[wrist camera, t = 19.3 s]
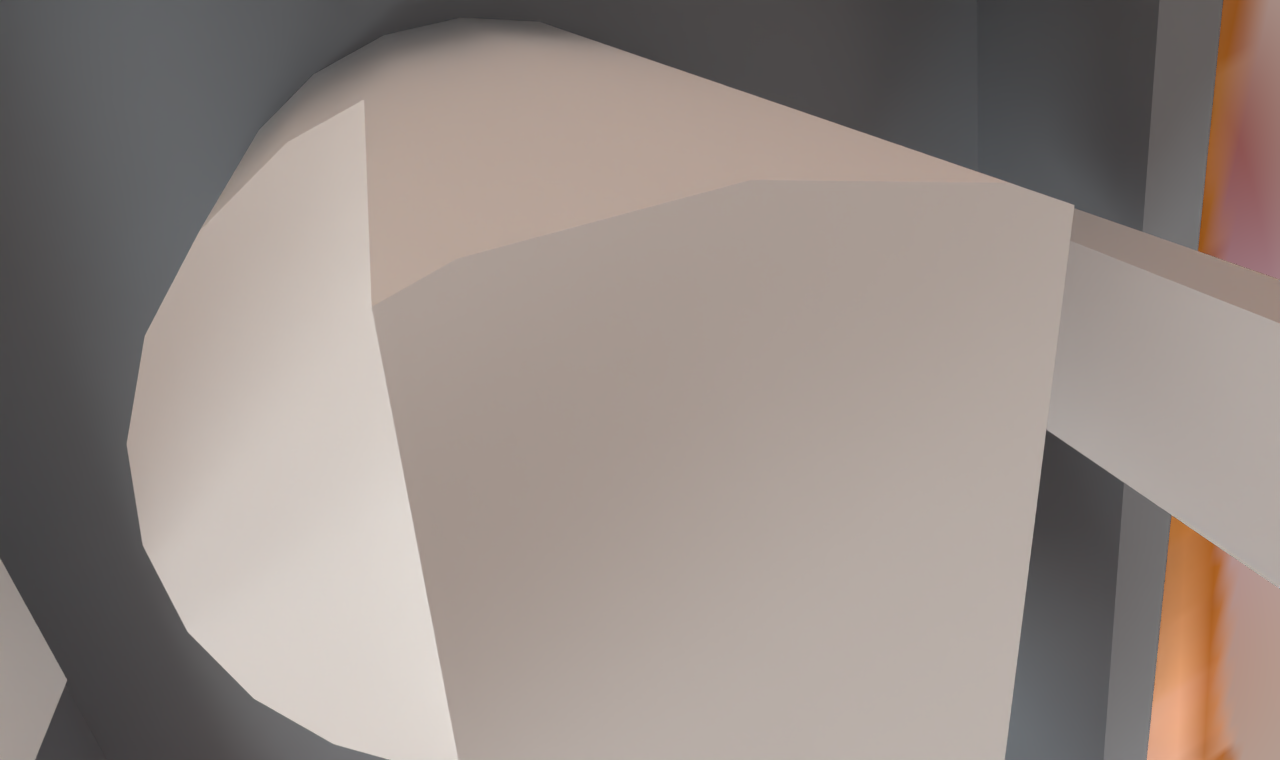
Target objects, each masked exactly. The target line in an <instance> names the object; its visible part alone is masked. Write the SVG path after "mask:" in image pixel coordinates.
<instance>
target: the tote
mask: <svg viewBox="0 0 1280 760" xmlns="http://www.w3.org/2000/svg"><path fill="white" fill-rule="evenodd" d="M1222 6H1223V0H0V559H1V561H2V563H3V564H4V566H5V568H6V570H7V572H8V574H9V575H10V577H11V579H12V581H13V583H14V584H15V586H16V588H17V590H18V592H19V593H20V595H21V597H22V599H23V601H24V603H25V604H26V606H27V608H28V610H29V612H30V613H31V615H32V617H33V619H34V621H35V623H36V624H37V626H38V628H39V630H40V632H41V633H42V635H43V637H44V639H45V641H46V642H47V644H48V646H49V648H50V650H51V652H52V653H53V655H54V657H55V659H56V661H57V662H58V664H59V666H60V668H61V670H62V671H63V673H64V675H65V677H66V679H67V682H66V684H65V687H64V689H63V692H62V694H61V697H60V699H59V702H58V704H57V707H56V709H55V712H54V714H53V717H52V719H51V722H50V724H49V726H48V729H47V731H46V734H45V736H44V739H43V741H42V744H41V746H40V749H39V751H38V754H37V756H36V759H35V760H388V759H385V758H381V757H378V756H374V755H371V754H367V753H363V752H360V751H356V750H353V749H349V748H346V747H342V746H338V745H335V744H332V743H331V742H329V741H327V740H325V739H324V738H322V737H320V736H318V735H317V734H315V733H313V732H311V731H310V730H308V729H306V728H304V727H303V726H301V725H299V724H297V723H296V722H294V721H292V720H290V719H289V718H287V717H285V716H283V715H282V714H280V713H278V712H276V711H275V710H273V709H271V708H269V707H268V706H266V705H264V704H262V703H261V702H259V701H257V700H255V699H254V698H253V697H252V696H251V695H250V694H249V693H248V692H247V691H246V690H245V689H244V688H243V687H242V686H241V685H240V684H239V683H238V682H237V681H236V680H235V679H234V678H233V677H232V676H231V675H230V674H229V673H228V672H227V671H226V670H225V669H224V668H223V667H222V666H221V665H220V664H219V663H218V662H217V661H216V660H215V659H214V658H213V657H212V656H211V655H210V654H209V653H208V652H207V651H206V650H205V649H204V648H203V647H202V646H201V645H200V644H199V643H198V642H197V641H196V640H195V639H194V638H193V637H192V636H191V635H190V634H189V633H188V632H187V630H186V628H185V626H184V624H183V622H182V620H181V618H180V616H179V614H178V612H177V611H176V609H175V607H174V605H173V603H172V601H171V599H170V597H169V595H168V593H167V591H166V589H165V587H164V586H163V584H162V582H161V580H160V578H159V576H158V574H157V572H156V570H155V568H154V566H153V564H152V562H151V560H150V559H149V557H148V555H147V553H146V551H145V549H144V547H143V544H142V538H141V532H140V525H139V519H138V513H137V507H136V500H135V494H134V488H133V482H132V475H131V469H130V463H129V456H128V450H127V438H128V432H129V427H130V421H131V415H132V409H133V403H134V397H135V391H136V385H137V379H138V373H139V367H140V361H141V355H142V349H143V343H144V337H145V334H146V332H147V331H148V329H149V327H150V325H151V323H152V321H153V319H154V317H155V315H156V313H157V311H158V309H159V307H160V306H161V304H162V302H163V300H164V298H165V296H166V294H167V292H168V290H169V288H170V286H171V284H172V283H173V281H174V279H175V277H176V275H177V273H178V271H179V269H180V267H181V265H182V263H183V261H184V260H185V258H186V256H187V254H188V252H189V250H190V248H191V246H192V244H193V242H194V240H195V238H196V237H197V235H198V233H199V231H200V229H201V227H202V226H203V224H204V222H205V221H206V219H207V217H208V216H209V214H210V212H211V210H212V209H213V207H214V205H215V204H216V202H217V200H218V199H219V197H220V195H221V193H222V192H223V190H224V188H225V187H226V185H227V183H228V182H229V180H230V178H231V176H232V175H233V173H234V171H235V170H236V168H237V166H238V165H239V163H240V161H241V160H242V158H243V156H244V154H245V153H246V151H247V149H248V148H249V146H250V144H251V143H252V141H253V139H254V137H255V136H256V134H257V132H258V131H259V129H260V128H261V127H262V126H263V125H264V124H265V123H266V122H267V121H268V120H269V119H270V118H271V117H272V116H273V115H274V114H275V113H276V112H277V111H278V110H279V109H280V108H281V107H282V106H283V105H284V104H285V103H286V102H287V101H288V100H289V99H290V98H291V97H292V96H293V95H294V94H295V93H296V92H297V91H298V90H299V89H300V88H301V87H302V86H303V85H304V84H305V83H306V82H307V81H308V80H309V79H310V77H311V76H312V75H313V74H315V73H317V72H318V71H320V70H322V69H324V68H326V67H327V66H329V65H331V64H333V63H335V62H336V61H338V60H340V59H342V58H344V57H345V56H347V55H349V54H351V53H353V52H354V51H356V50H358V49H360V48H362V47H363V46H365V45H367V44H369V43H371V42H372V41H374V40H376V39H378V38H380V37H381V36H383V35H387V34H391V33H396V32H400V31H405V30H409V29H413V28H418V27H422V26H426V25H431V24H435V23H440V22H444V21H448V20H453V19H457V18H479V19H498V20H516V21H535V22H541V23H544V24H547V25H550V26H553V27H556V28H559V29H562V30H565V31H568V32H571V33H574V34H576V35H579V36H582V37H585V38H588V39H591V40H594V41H597V42H600V43H603V44H606V45H609V46H611V47H614V48H617V49H620V50H623V51H626V52H629V53H632V54H635V55H638V56H641V57H644V58H647V59H649V60H652V61H655V62H658V63H661V64H664V65H667V66H670V67H673V68H676V69H679V70H682V71H685V72H687V73H690V74H693V75H696V76H699V77H702V78H705V79H708V80H711V81H714V82H717V83H720V84H723V85H725V86H728V87H731V88H734V89H737V90H740V91H743V92H746V93H749V94H752V95H755V96H758V97H760V98H763V99H766V100H769V101H772V102H775V103H778V104H781V105H784V106H787V107H790V108H793V109H796V110H798V111H801V112H804V113H807V114H810V115H813V116H816V117H819V118H822V119H825V120H828V121H831V122H834V123H836V124H839V125H842V126H845V127H848V128H851V129H854V130H857V131H860V132H863V133H866V134H869V135H872V136H874V137H877V138H880V139H883V140H886V141H889V142H892V143H895V144H898V145H901V146H904V147H907V148H909V149H912V150H915V151H918V152H921V153H924V154H927V155H930V156H933V157H936V158H939V159H942V160H945V161H947V162H950V163H953V164H956V165H959V166H962V167H965V168H968V169H971V170H974V171H977V172H980V173H983V174H985V175H988V176H991V177H994V178H997V179H1000V180H1003V181H1006V182H1009V183H1012V184H1015V185H1018V186H1020V187H1023V188H1026V189H1029V190H1032V191H1035V192H1038V193H1041V194H1044V195H1047V196H1050V197H1052V198H1055V199H1058V200H1061V201H1064V202H1067V203H1070V204H1073V205H1075V206H1074V208H1075V209H1078V210H1081V211H1084V212H1087V213H1089V214H1092V215H1095V216H1098V217H1101V218H1104V219H1107V220H1110V221H1112V222H1115V223H1118V224H1121V225H1124V226H1127V227H1130V228H1133V229H1135V230H1138V231H1141V232H1144V233H1147V234H1150V235H1153V236H1156V237H1159V238H1161V239H1164V240H1167V241H1170V242H1173V243H1176V244H1179V245H1182V246H1184V247H1187V248H1190V249H1193V250H1196V251H1198V244H1199V234H1200V225H1201V215H1202V205H1203V195H1204V185H1205V175H1206V165H1207V155H1208V145H1209V135H1210V125H1211V115H1212V106H1213V96H1214V86H1215V76H1216V66H1217V56H1218V46H1219V36H1220V26H1221V16H1222ZM1170 522H1171V514H1169V513H1168V512H1166V511H1165V510H1163V509H1162V508H1160V507H1159V506H1158V505H1156V504H1155V503H1153V502H1152V501H1150V500H1149V499H1147V498H1146V497H1144V496H1143V495H1141V494H1140V493H1139V492H1137V491H1136V490H1134V489H1133V488H1131V487H1130V486H1128V485H1127V484H1125V483H1124V482H1122V481H1121V480H1120V479H1118V478H1117V477H1115V476H1114V475H1112V474H1111V473H1109V472H1108V471H1106V470H1105V469H1103V468H1102V467H1100V466H1099V465H1098V464H1096V463H1095V462H1093V461H1092V460H1090V459H1089V458H1087V457H1086V456H1084V455H1083V454H1081V453H1080V452H1079V451H1077V450H1076V449H1074V448H1073V447H1071V446H1070V445H1068V444H1067V443H1065V442H1064V441H1062V440H1061V439H1060V438H1058V437H1057V436H1055V435H1054V434H1052V433H1051V432H1049V431H1048V430H1046V436H1045V444H1044V452H1043V460H1042V468H1041V476H1040V484H1039V492H1038V499H1037V507H1036V515H1035V523H1034V531H1033V539H1032V547H1031V555H1030V563H1029V571H1028V579H1027V587H1026V595H1025V603H1024V611H1023V619H1022V627H1021V634H1020V642H1019V650H1018V658H1017V666H1016V674H1015V682H1014V690H1013V698H1012V706H1011V714H1010V722H1009V730H1008V738H1007V746H1006V754H1005V760H1147V750H1148V740H1149V730H1150V720H1151V710H1152V701H1153V691H1154V681H1155V671H1156V661H1157V651H1158V641H1159V631H1160V621H1161V611H1162V601H1163V591H1164V582H1165V572H1166V562H1167V552H1168V542H1169V532H1170Z"/></svg>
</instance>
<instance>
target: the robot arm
mask: <svg viewBox="0 0 1280 760" xmlns="http://www.w3.org/2000/svg"><path fill="white" fill-rule="evenodd" d="M1046 430H1048V431H1049V432H1051V433H1052V434H1054V435H1055V436H1057V437H1058V438H1060V439H1061V440H1062V441H1064V442H1065V443H1067V444H1068V445H1070V446H1071V447H1073V448H1074V449H1076V450H1077V451H1079V452H1080V453H1081V454H1083V455H1084V456H1086V457H1087V458H1089V459H1090V460H1092V461H1093V462H1095V463H1096V464H1098V465H1099V466H1100V467H1102V468H1103V469H1105V470H1106V471H1108V472H1109V473H1111V474H1112V475H1114V476H1115V477H1117V478H1118V479H1120V480H1121V481H1122V482H1124V483H1125V484H1127V485H1128V486H1130V487H1131V488H1133V489H1134V490H1136V491H1137V492H1139V493H1140V494H1141V495H1143V496H1144V497H1146V498H1147V499H1149V500H1150V501H1152V502H1153V503H1155V504H1156V505H1158V506H1159V507H1160V508H1162V509H1163V510H1165V511H1166V512H1168V513H1169V514H1171V515H1172V516H1174V517H1175V518H1177V519H1178V520H1180V521H1181V522H1182V523H1184V524H1185V525H1187V526H1188V527H1190V528H1191V529H1193V530H1194V531H1196V532H1197V533H1199V534H1200V535H1201V536H1203V537H1204V538H1206V539H1207V540H1209V541H1210V542H1212V543H1213V544H1215V545H1216V546H1218V547H1219V548H1220V549H1222V550H1223V551H1225V552H1226V553H1228V554H1229V555H1231V556H1232V557H1234V558H1235V559H1237V560H1238V561H1240V562H1241V563H1242V564H1244V565H1245V566H1247V567H1248V568H1250V569H1251V570H1253V571H1254V572H1256V573H1257V574H1259V575H1260V576H1261V577H1263V578H1264V579H1266V580H1267V581H1269V582H1270V583H1272V584H1273V585H1275V586H1276V587H1278V588H1279V589H1280V280H1279V279H1277V278H1274V277H1271V276H1267V275H1265V274H1262V273H1259V272H1256V271H1254V270H1251V269H1248V268H1245V267H1242V266H1239V265H1236V264H1233V263H1231V262H1228V261H1225V260H1222V259H1219V258H1216V257H1213V256H1210V255H1207V254H1205V253H1202V252H1199V251H1196V250H1193V249H1190V248H1187V247H1184V246H1182V245H1179V244H1176V243H1173V242H1170V241H1167V240H1164V239H1161V238H1159V237H1156V236H1153V235H1150V234H1147V233H1144V232H1141V231H1138V230H1135V229H1133V228H1130V227H1127V226H1124V225H1121V224H1118V223H1115V222H1112V221H1110V220H1107V219H1104V218H1101V217H1098V216H1095V215H1092V214H1089V213H1087V212H1084V211H1081V210H1078V209H1075V208H1074V214H1073V222H1072V229H1071V237H1070V245H1069V253H1068V261H1067V269H1066V277H1065V285H1064V293H1063V301H1062V309H1061V317H1060V325H1059V333H1058V341H1057V349H1056V357H1055V364H1054V372H1053V380H1052V388H1051V396H1050V404H1049V412H1048V420H1047V428H1046ZM66 682H67V679H66V677H65V675H64V673H63V671H62V670H61V668H60V666H59V664H58V662H57V661H56V659H55V657H54V655H53V653H52V652H51V650H50V648H49V646H48V644H47V642H46V641H45V639H44V637H43V635H42V633H41V632H40V630H39V628H38V626H37V624H36V623H35V621H34V619H33V617H32V615H31V613H30V612H29V610H28V608H27V606H26V604H25V603H24V601H23V599H22V597H21V595H20V593H19V592H18V590H17V588H16V586H15V584H14V583H13V581H12V579H11V577H10V575H9V574H8V572H7V570H6V568H5V566H4V564H3V563H2V561H1V559H0V760H35V759H36V756H37V754H38V751H39V749H40V746H41V744H42V741H43V739H44V736H45V734H46V731H47V729H48V726H49V724H50V722H51V719H52V717H53V714H54V712H55V709H56V707H57V704H58V702H59V699H60V697H61V694H62V692H63V689H64V687H65V684H66Z"/></svg>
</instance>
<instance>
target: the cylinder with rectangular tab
mask: <svg viewBox="0 0 1280 760" xmlns="http://www.w3.org/2000/svg"><path fill="white" fill-rule="evenodd" d="M1074 206H1075V205H1073V204H1070V203H1067V202H1064V201H1061V200H1058V199H1055V198H1052V197H1050V196H1047V195H1044V194H1041V193H1038V192H1035V191H1032V190H1029V189H1026V188H1023V187H1020V186H1018V185H1015V184H1012V183H1009V182H1006V181H1003V180H1000V179H997V178H994V177H991V176H988V175H985V174H983V173H980V172H977V171H974V170H971V169H968V168H965V167H962V166H959V165H956V164H953V163H950V162H947V161H945V160H942V159H939V158H936V157H933V156H930V155H927V154H924V153H921V152H918V151H915V150H912V149H909V148H907V147H904V146H901V145H898V144H895V143H892V142H889V141H886V140H883V139H880V138H877V137H874V136H872V135H869V134H866V133H863V132H860V131H857V130H854V129H851V128H848V127H845V126H842V125H839V124H836V123H834V122H831V121H828V120H825V119H822V118H819V117H816V116H813V115H810V114H807V113H804V112H801V111H798V110H796V109H793V108H790V107H787V106H784V105H781V104H778V103H775V102H772V101H769V100H766V99H763V98H760V97H758V96H755V95H752V94H749V93H746V92H743V91H740V90H737V89H734V88H731V87H728V86H725V85H723V84H720V83H717V82H714V81H711V80H708V79H705V78H702V77H699V76H696V75H693V74H690V73H687V72H685V71H682V70H679V69H676V68H673V67H670V66H667V65H664V64H661V63H658V62H655V61H652V60H649V59H647V58H644V57H641V56H638V55H635V54H632V53H629V52H626V51H623V50H620V49H617V48H614V47H611V46H609V45H606V44H603V43H600V42H597V41H594V40H591V39H588V38H585V37H582V36H579V35H576V34H574V33H571V32H568V31H565V30H562V29H559V28H556V27H553V26H550V25H547V24H544V23H541V22H535V21H516V20H498V19H479V18H457V19H453V20H448V21H444V22H440V23H435V24H431V25H426V26H422V27H418V28H413V29H409V30H405V31H400V32H396V33H391V34H387V35H383V36H381V37H380V38H378V39H376V40H374V41H372V42H371V43H369V44H367V45H365V46H363V47H362V48H360V49H358V50H356V51H354V52H353V53H351V54H349V55H347V56H345V57H344V58H342V59H340V60H338V61H336V62H335V63H333V64H331V65H329V66H327V67H326V68H324V69H322V70H320V71H318V72H317V73H315V74H313V75H312V76H311V77H310V79H309V80H308V81H307V82H306V83H305V84H304V85H303V86H302V87H301V88H300V89H299V90H298V91H297V92H296V93H295V94H294V95H293V96H292V97H291V98H290V99H289V100H288V101H287V102H286V103H285V104H284V105H283V106H282V107H281V108H280V109H279V110H278V111H277V112H276V113H275V114H274V115H273V116H272V117H271V118H270V119H269V120H268V121H267V122H266V123H265V124H264V125H263V126H262V127H261V128H260V129H259V131H258V132H257V134H256V136H255V137H254V139H253V141H252V143H251V144H250V146H249V148H248V149H247V151H246V153H245V154H244V156H243V158H242V160H241V161H240V163H239V165H238V166H237V168H236V170H235V171H234V173H233V175H232V176H231V178H230V180H229V182H228V183H227V185H226V187H225V188H224V190H223V192H222V193H221V195H220V197H219V199H218V200H217V202H216V204H215V205H214V207H213V209H212V210H211V212H210V214H209V216H208V217H207V219H206V221H205V222H204V224H203V226H202V227H201V229H200V231H199V233H198V235H197V237H196V238H195V240H194V242H193V244H192V246H191V248H190V250H189V252H188V254H187V256H186V258H185V260H184V261H183V263H182V265H181V267H180V269H179V271H178V273H177V275H176V277H175V279H174V281H173V283H172V284H171V286H170V288H169V290H168V292H167V294H166V296H165V298H164V300H163V302H162V304H161V306H160V307H159V309H158V311H157V313H156V315H155V317H154V319H153V321H152V323H151V325H150V327H149V329H148V331H147V332H146V334H145V337H144V343H143V349H142V355H141V361H140V367H139V373H138V379H137V385H136V391H135V397H134V403H133V409H132V415H131V421H130V427H129V432H128V438H127V450H128V456H129V463H130V469H131V475H132V482H133V488H134V494H135V500H136V507H137V513H138V519H139V525H140V532H141V538H142V544H143V547H144V549H145V551H146V553H147V555H148V557H149V559H150V560H151V562H152V564H153V566H154V568H155V570H156V572H157V574H158V576H159V578H160V580H161V582H162V584H163V586H164V587H165V589H166V591H167V593H168V595H169V597H170V599H171V601H172V603H173V605H174V607H175V609H176V611H177V612H178V614H179V616H180V618H181V620H182V622H183V624H184V626H185V628H186V630H187V632H188V633H189V634H190V635H191V636H192V637H193V638H194V639H195V640H196V641H197V642H198V643H199V644H200V645H201V646H202V647H203V648H204V649H205V650H206V651H207V652H208V653H209V654H210V655H211V656H212V657H213V658H214V659H215V660H216V661H217V662H218V663H219V664H220V665H221V666H222V667H223V668H224V669H225V670H226V671H227V672H228V673H229V674H230V675H231V676H232V677H233V678H234V679H235V680H236V681H237V682H238V683H239V684H240V685H241V686H242V687H243V688H244V689H245V690H246V691H247V692H248V693H249V694H250V695H251V696H252V697H253V698H254V699H255V700H257V701H259V702H261V703H262V704H264V705H266V706H268V707H269V708H271V709H273V710H275V711H276V712H278V713H280V714H282V715H283V716H285V717H287V718H289V719H290V720H292V721H294V722H296V723H297V724H299V725H301V726H303V727H304V728H306V729H308V730H310V731H311V732H313V733H315V734H317V735H318V736H320V737H322V738H324V739H325V740H327V741H329V742H331V743H332V744H335V745H338V746H342V747H346V748H349V749H353V750H356V751H360V752H363V753H367V754H371V755H374V756H378V757H381V758H385V759H388V760H1005V754H1006V746H1007V738H1008V730H1009V722H1010V714H1011V706H1012V698H1013V690H1014V682H1015V674H1016V666H1017V658H1018V650H1019V642H1020V634H1021V627H1022V619H1023V611H1024V603H1025V595H1026V587H1027V579H1028V571H1029V563H1030V555H1031V547H1032V539H1033V531H1034V523H1035V515H1036V507H1037V499H1038V492H1039V484H1040V476H1041V468H1042V460H1043V452H1044V444H1045V436H1046V428H1047V420H1048V412H1049V404H1050V396H1051V388H1052V380H1053V372H1054V364H1055V357H1056V349H1057V341H1058V333H1059V325H1060V317H1061V309H1062V301H1063V293H1064V285H1065V277H1066V269H1067V261H1068V253H1069V245H1070V237H1071V229H1072V222H1073V214H1074Z"/></svg>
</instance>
